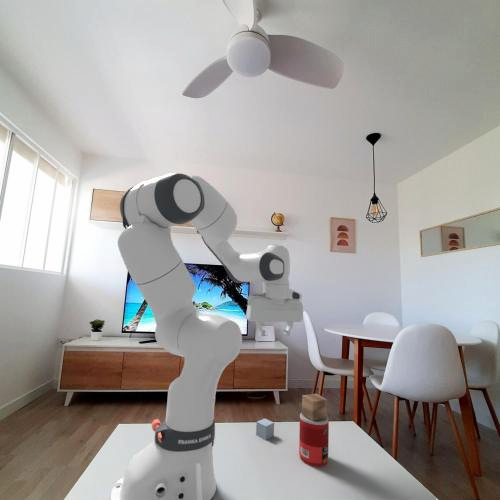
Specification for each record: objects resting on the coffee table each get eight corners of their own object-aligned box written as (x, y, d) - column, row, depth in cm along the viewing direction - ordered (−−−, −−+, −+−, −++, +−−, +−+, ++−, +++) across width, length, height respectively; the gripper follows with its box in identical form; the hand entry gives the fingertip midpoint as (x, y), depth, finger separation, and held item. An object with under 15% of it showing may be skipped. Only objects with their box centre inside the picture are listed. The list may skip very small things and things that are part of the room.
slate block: (265, 440, 87) (265, 426, 88) (256, 435, 90) (256, 421, 91) (273, 436, 90) (274, 422, 91) (264, 431, 93) (264, 418, 93)
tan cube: (312, 421, 77) (312, 401, 78) (301, 413, 82) (302, 395, 82) (327, 418, 79) (327, 399, 80) (316, 411, 84) (316, 393, 84)
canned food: (329, 469, 74) (329, 424, 76) (298, 464, 76) (299, 419, 77) (327, 453, 81) (327, 412, 83) (299, 449, 83) (300, 409, 85)
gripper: (252, 292, 89) (250, 337, 86) (306, 295, 97) (305, 336, 95) (244, 291, 94) (242, 334, 92) (295, 294, 103) (294, 333, 100)
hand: (274, 335), depth 94 cm, fingers open, 8 cm apart
